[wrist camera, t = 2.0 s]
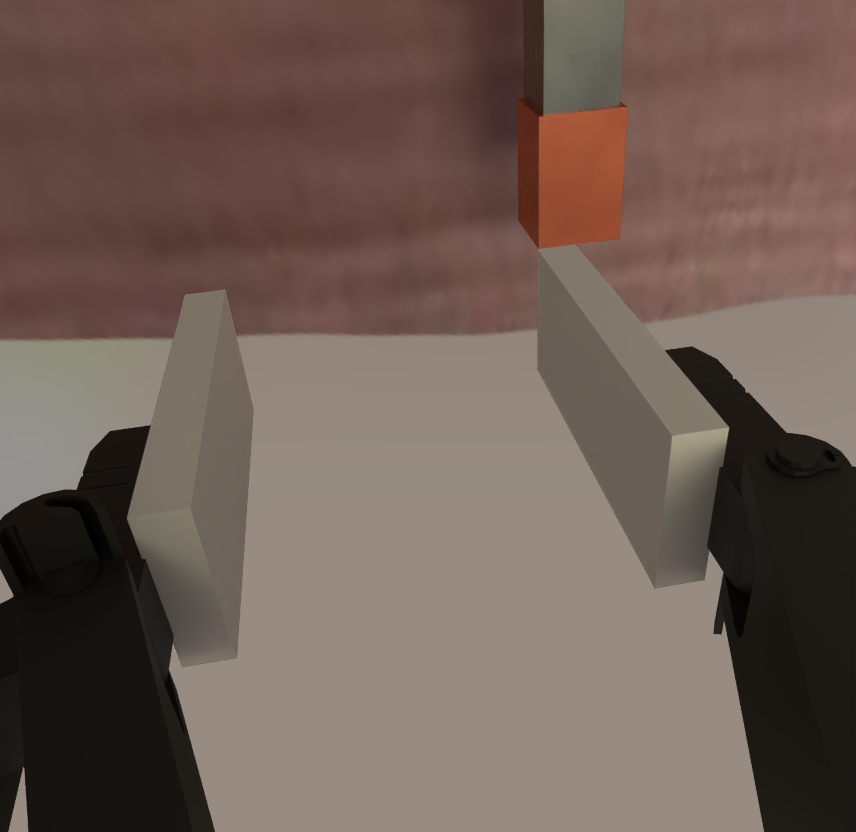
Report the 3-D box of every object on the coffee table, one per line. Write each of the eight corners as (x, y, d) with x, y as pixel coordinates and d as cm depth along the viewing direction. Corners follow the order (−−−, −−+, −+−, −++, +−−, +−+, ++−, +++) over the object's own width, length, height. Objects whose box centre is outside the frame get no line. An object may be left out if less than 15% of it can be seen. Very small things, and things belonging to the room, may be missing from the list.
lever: (500, -235, 23) (529, -253, 20) (623, -245, 23) (667, -264, 20) (509, 222, 30) (531, 253, 27) (602, 210, 30) (632, 240, 28)
